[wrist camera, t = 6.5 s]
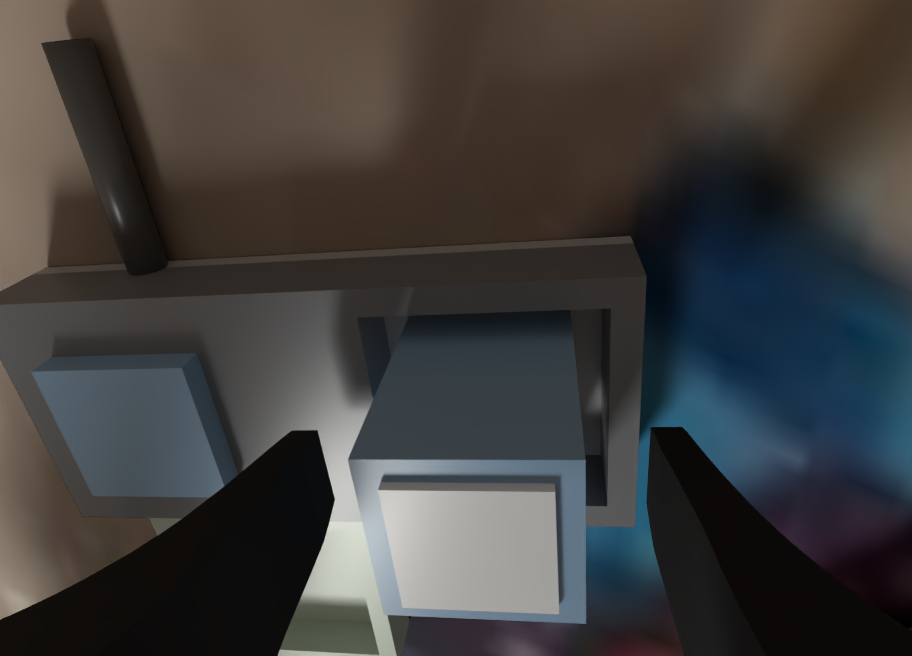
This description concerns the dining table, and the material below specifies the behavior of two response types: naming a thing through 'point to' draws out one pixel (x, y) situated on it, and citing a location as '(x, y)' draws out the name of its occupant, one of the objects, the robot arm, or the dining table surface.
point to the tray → (338, 601)
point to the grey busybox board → (278, 342)
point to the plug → (477, 470)
